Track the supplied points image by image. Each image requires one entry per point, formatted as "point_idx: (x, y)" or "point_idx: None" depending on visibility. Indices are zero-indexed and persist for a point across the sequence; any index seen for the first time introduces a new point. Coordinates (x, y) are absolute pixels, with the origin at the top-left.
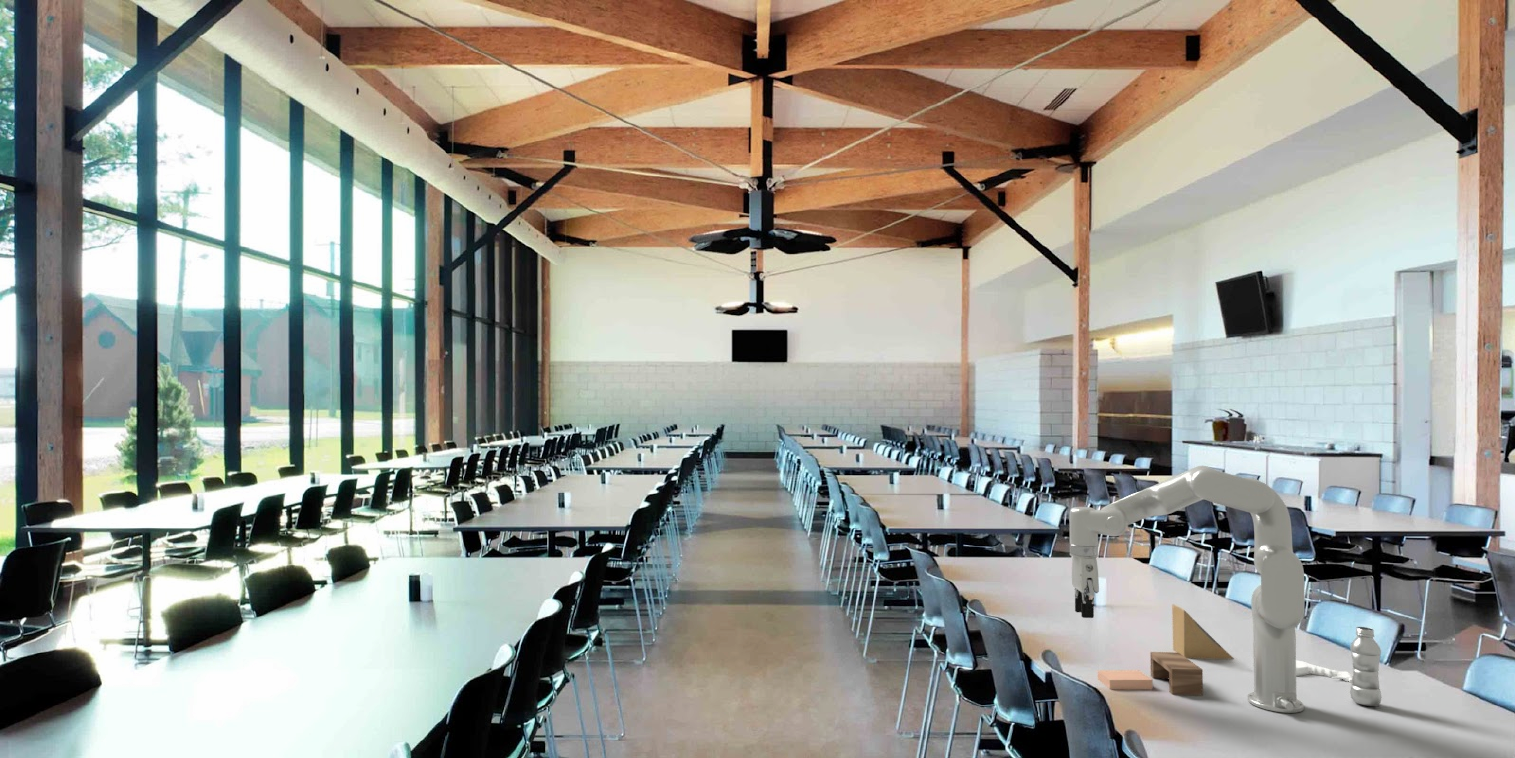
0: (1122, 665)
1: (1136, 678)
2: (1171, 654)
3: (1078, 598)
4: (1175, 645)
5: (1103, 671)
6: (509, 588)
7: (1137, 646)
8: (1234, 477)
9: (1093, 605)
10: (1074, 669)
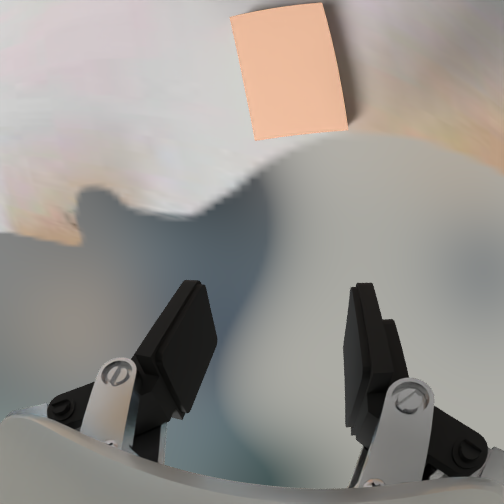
0: (127, 56)
1: (318, 42)
2: None
3: (174, 404)
4: None
5: (262, 124)
6: None
7: (23, 41)
8: None
9: (388, 355)
10: (185, 184)
